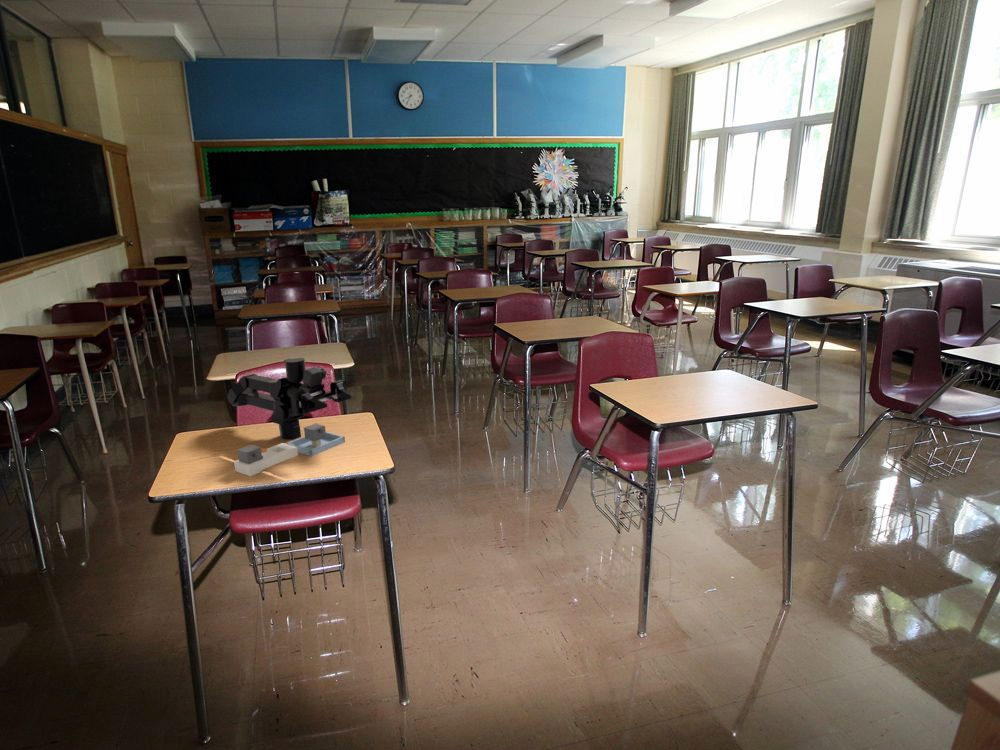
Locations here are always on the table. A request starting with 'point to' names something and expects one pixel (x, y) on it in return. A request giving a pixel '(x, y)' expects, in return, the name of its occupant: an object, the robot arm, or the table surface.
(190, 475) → the table surface
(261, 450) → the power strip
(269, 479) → the table surface
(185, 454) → the table surface
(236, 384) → the robot arm
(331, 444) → the tray
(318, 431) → the grey block with knob
